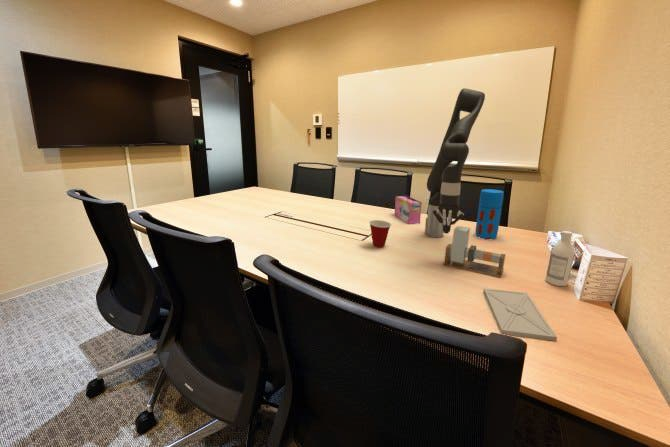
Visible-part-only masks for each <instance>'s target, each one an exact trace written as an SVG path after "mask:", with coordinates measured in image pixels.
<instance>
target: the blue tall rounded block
mask: <svg viewBox="0 0 670 447" xmlns="http://www.w3.org/2000/svg"><path fill="white" fill-rule="evenodd" d="M504 194H505V193H504V191H503V190H500V189H499V190H498V189H493V188H491V189H489V188H486V189H481V190H480V196H479V201H478V203H479V204H478V209H477V216H476V224H475V233H474V234H475V235H476V236H477V237H476V236H475V235H474V236H475V237H476V238H478V237H480V238H479V239H481V238H484V239H483V240H487V239H493V240H496V239H497V238H496V237H498V232H499V226H500V221H501V214H502V206H503V202H504ZM495 238H496V239H495Z"/></svg>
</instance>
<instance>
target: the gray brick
mask: <svg viewBox="0 0 670 447" xmlns="http://www.w3.org/2000/svg"><path fill="white" fill-rule="evenodd" d="M468 248H469V251H468V257H467V258H466V260H467V261H469V262H474V260H475V259H473V256H474V251H475V250H477V245H474V244H471V245H470V247H468Z"/></svg>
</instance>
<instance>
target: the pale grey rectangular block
mask: <svg viewBox="0 0 670 447" xmlns="http://www.w3.org/2000/svg"><path fill="white" fill-rule="evenodd" d="M470 230H471V227H467V226H461V225H457V226H456V227H455V228H454V229H453V235H452V243H451V244H452V251H451V261H455V262H460V263H463V262H464V261H465V260H467V257H464V254H465V249H466V248H469V247H468V246H469V238H470Z"/></svg>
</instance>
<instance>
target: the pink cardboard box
mask: <svg viewBox="0 0 670 447" xmlns="http://www.w3.org/2000/svg"><path fill="white" fill-rule="evenodd" d="M394 201H395V204H394V216H395V217H397V218H399V219H400V220H401V219H402V221H403V222H404V223H406V224H408V225H416V224H415V223H419V224H421V215H422V205H423V202H421V201H419V200H418V199H415V198H412V196H411V197H410V196H409V195H407V194H406V195H405V194H404V195H403V196H401V195H400V196H398V195H395V200H394Z"/></svg>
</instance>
